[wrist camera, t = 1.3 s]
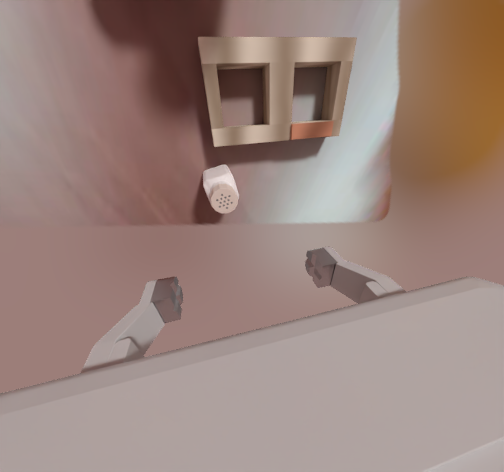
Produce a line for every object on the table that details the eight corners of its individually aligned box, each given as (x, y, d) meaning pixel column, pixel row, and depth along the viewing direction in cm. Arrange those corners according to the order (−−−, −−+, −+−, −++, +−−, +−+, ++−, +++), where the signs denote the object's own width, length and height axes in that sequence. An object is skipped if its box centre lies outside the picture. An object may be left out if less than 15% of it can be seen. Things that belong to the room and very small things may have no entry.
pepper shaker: (201, 170, 28) (201, 191, 20) (226, 162, 28) (235, 179, 20) (211, 194, 30) (214, 221, 22) (234, 186, 30) (245, 210, 23)
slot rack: (213, 144, 26) (214, 147, 24) (198, 46, 21) (197, 35, 18) (327, 134, 29) (340, 135, 26) (340, 45, 24) (359, 36, 21)
